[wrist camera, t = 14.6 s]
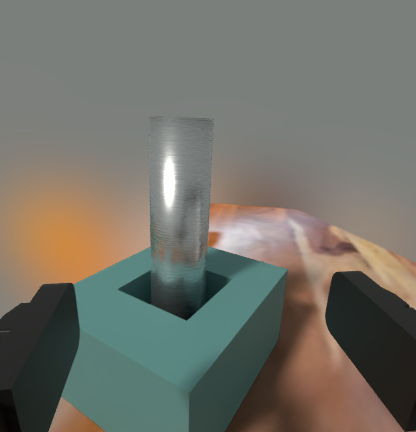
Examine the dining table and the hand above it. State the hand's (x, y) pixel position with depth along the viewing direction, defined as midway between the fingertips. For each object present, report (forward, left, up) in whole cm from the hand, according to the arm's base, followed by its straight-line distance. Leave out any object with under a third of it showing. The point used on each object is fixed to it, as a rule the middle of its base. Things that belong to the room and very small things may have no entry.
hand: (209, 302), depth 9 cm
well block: (-9, -8, -13) cm, 18 cm away
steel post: (-8, -8, -13) cm, 17 cm away
